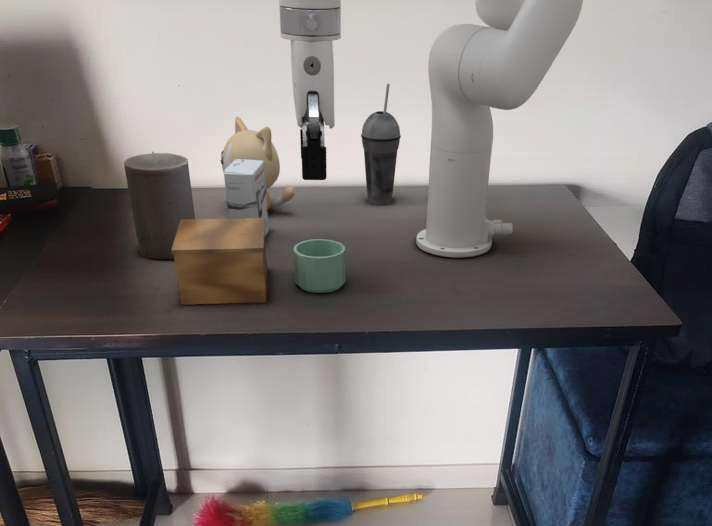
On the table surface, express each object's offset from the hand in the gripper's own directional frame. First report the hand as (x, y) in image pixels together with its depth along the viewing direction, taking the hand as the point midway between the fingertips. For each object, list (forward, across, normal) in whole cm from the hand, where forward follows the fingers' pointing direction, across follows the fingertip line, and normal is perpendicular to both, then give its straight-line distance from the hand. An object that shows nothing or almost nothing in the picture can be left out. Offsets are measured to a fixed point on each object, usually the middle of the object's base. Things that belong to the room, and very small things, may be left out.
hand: (313, 169), depth 105 cm
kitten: (+16, +34, +10) cm, 39 cm away
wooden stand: (+16, -1, +13) cm, 21 cm away
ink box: (+16, +19, +10) cm, 27 cm away
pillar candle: (+17, +15, +23) cm, 33 cm away
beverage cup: (+16, +39, -14) cm, 44 cm away
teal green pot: (+16, 0, -1) cm, 16 cm away
